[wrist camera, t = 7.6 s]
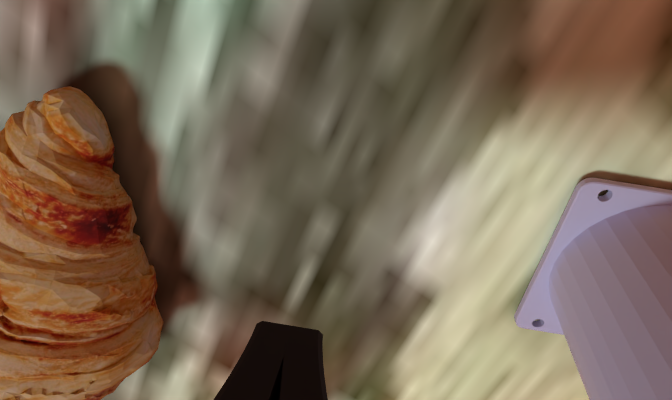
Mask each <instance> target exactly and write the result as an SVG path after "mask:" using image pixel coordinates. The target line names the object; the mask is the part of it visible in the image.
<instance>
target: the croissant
mask: <svg viewBox="0 0 672 400" xmlns="http://www.w3.org/2000/svg"><path fill="white" fill-rule="evenodd" d="M114 150H115V147H114V144H113V141H112V137H111V135H110V132H109V128H108V125H107V122H106V120H105V118H104V116H103V113H102V112H101V111H100V110H99V108H98V107H97V106H96V105H95V104H94V102H93V101H92V100H91V99H90V98H89V97H88V96H87V95H86V94H85V93H84V92H82V91H81V90H80V89H77V88H74V87H71V86H68V87H63V88H58V89H53V90H50V91H49V92H47V93H45V94H44V95H43V99H42V101H32V102H30V103H28V104H27V107H26V109H25V111H22V112H19V113H14V114H12V115H11V116H10V118H9V119H8V121H7V122H6V125H5V128H4V129H3V130H2V131H0V400H100V399H102V398H103V397H105V396H106V395H108V394H110V393H113V392H114V391H115V389H116V388H117V387H118V386H119V384H120V383H121V382H122V381H123V380H124V379H125V378H126V377H128V376H129V375H131V374H132V373H133V372H135V371H136V370H138V369H139V368H140V367H142V366H143V365H144V364H146V363H147V362H149V360H150V359H151V358H152V356H153V355H154V353H155V352H156V351H157V349H158V345H159V341H160V335H161V330H162V326H163V320H162V317H161V315H160V313H159V310H158V308H157V304H156V300H155V294H156V292H157V287H158V285H157V280H156V273H155V270H154V267H153V266H152V265H149V262H148V259H147V256H146V254H145V251H144V249H143V246H142V244H141V243H140V236H138V235H137V234H135V233H133V227H134V225H135V223H136V220H137V217H136V214H135V211H134V208H133V206H132V200H131V198H130V197H129V196H128V195H127V193H126V191H125V190H124V188H123V187H122V186H121V184H120V181H119V175H118V174H117V173H116V172H114V171H113V170H112V166H113V163H114V157H113V153H114Z"/></svg>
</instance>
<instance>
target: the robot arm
mask: <svg viewBox="0 0 672 400" xmlns="http://www.w3.org/2000/svg"><path fill="white" fill-rule="evenodd" d="M603 190H608V192H607V193H606V194H605V195H603V196H598V194H599V193H600V192H601V191H603ZM514 318H515V322H516V324H517V325H518V326H519V327H521V328H525V329H531V330H538V331H544V332H550V333H556V334H563V335H565V338H566V340H567V343H568V346H569V348H570V351H571V353H572V356H573V358H574V361H575V363H576V366H577V369H578V371H579V374H580V376H581V379H582V381H583V384H584V386H585V389H586V392H587V394H588V397H589V399H590V400H672V190H668V189H661V188H655V187H649V186H643V185H637V184H630V183H624V182H618V181H612V180H606V179H599V178H586V179H583V180H582V181H581V182H579V183H578V185H577V186H576V187H575V190H574V192H573V194H572V196H571V198H570V200H569V202H568V204H567V206H566V208H565V210H564V213H563V215H562V217H561V219H560V221H559V223H558V225H557V227H556V229H555V231H554V233H553V235H552V238H551V240H550V242H549V244H548V246H547V248H546V250H545V252H544V254H543V256H542V258H541V260H540V263H539V265H538V267H537V269H536V271H535V273H534V275H533V277H532V279H531V281H530V283H529V285H528V288H527V290H526V292H525V294H524V296H523V298H522V300H521V302H520V304H519V306H518V308H517V310H516V313H515V315H514ZM536 319H540V320H537V321H534V320H536ZM322 339H323V335H322V334H321V332H320V331H319V330H314V329H308V328H302V327H296V326H289V325H283V324H277V323H271V322H265V321H261V322H259V323H257V324H256V327H255V329H254V332H253V334H252V336H251V338H250V340H249V342H248V344H247V346H246V348H245V350H244V352H243V353H242V355H241V357H240V359H239V361H238V362H237V364H236V366H235V367H234V369H233V371H232V372H231V374H230V376H229V377H228V379H227V380H226V382H225V383H224V385H223V386H222V388H221V389H220V391H219V392H218V394H217V395H216V397H215V398H214V400H328V399H327V393H326V385H325V377H324V368H323V352H322Z"/></svg>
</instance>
